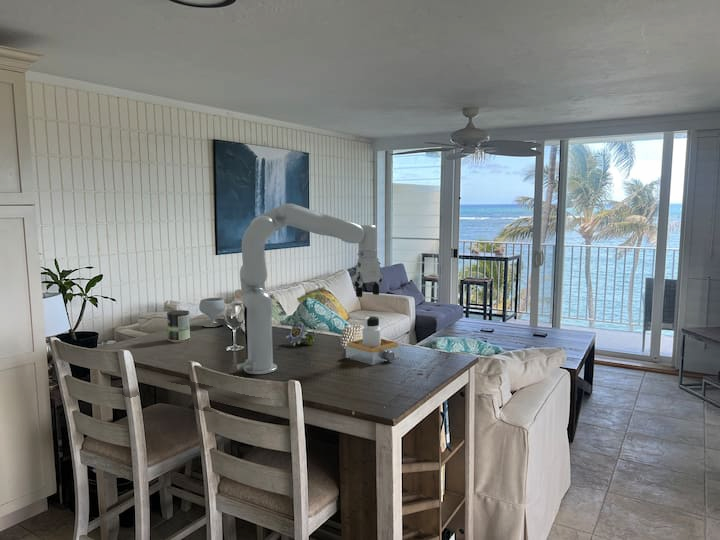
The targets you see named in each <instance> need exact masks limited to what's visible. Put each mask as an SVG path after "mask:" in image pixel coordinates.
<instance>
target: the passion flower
mask: <svg viewBox="0 0 720 540" xmlns="http://www.w3.org/2000/svg"><path fill="white" fill-rule="evenodd" d="M309 329H310V328H309V326H306V327H304V323H303V322H301V323H300V324H297V325H295V326H292V328H290V331H289V332H288V334H287V335H286V336H285V339H289V340H290V344H291V345H292V346H293V347H294V346H297V344H298V345H300V344H301V343H302V340H303V342H307V344H308V345H309V346H310V345H311V346H312V343H313V344H314V343H315V338H314V337H313V336H312V335H311V334H312V333H313V335H314V336H316V332H315V331H314V330H312V331H311V332H309V331H308V330H309ZM305 340H306V341H305Z"/></svg>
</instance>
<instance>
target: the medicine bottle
mask: <svg viewBox="0 0 720 540" xmlns="http://www.w3.org/2000/svg"><path fill="white" fill-rule="evenodd" d="M363 322H364V325H363V326H364V327H363V329H362V339H363V346H367V347H378V346H380V344H381V339H382V335H381V333H382V332H381V327H380V320H379V317H378V316H366V317H365V318H364V321H363Z"/></svg>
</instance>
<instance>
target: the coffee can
mask: <svg viewBox="0 0 720 540" xmlns="http://www.w3.org/2000/svg"><path fill="white" fill-rule="evenodd" d="M166 317H167V336H168V337H167V338H168V339H170V340H185V339H188V338H190V339H191V334H190V333H191V331H190V330H191V329H190V311H189V310H183V309H181V310H180V309H179V310H173V311H172V310H171V311H168V312H167V313H166Z"/></svg>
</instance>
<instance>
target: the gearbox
mask: <svg viewBox="0 0 720 540" xmlns="http://www.w3.org/2000/svg"><path fill="white" fill-rule="evenodd" d="M346 344H347V345H345V358H346V359H349V358H350V359H349V360H353V361H356V360H357V362H360V363H363V362H364V364H368V365H370V366H375V365H377V364H381V362H382V363H384V361H385V362H388V360H389V362H392V361H394V360H395V359H398V357H399V358H400V345H399V342H398V341H393V340H389V339H384V338H381V344H380V346H378V347H367V346H363V338H361V339H356V340H353V341H352V340H351V341H349V342H347V343H346Z"/></svg>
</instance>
